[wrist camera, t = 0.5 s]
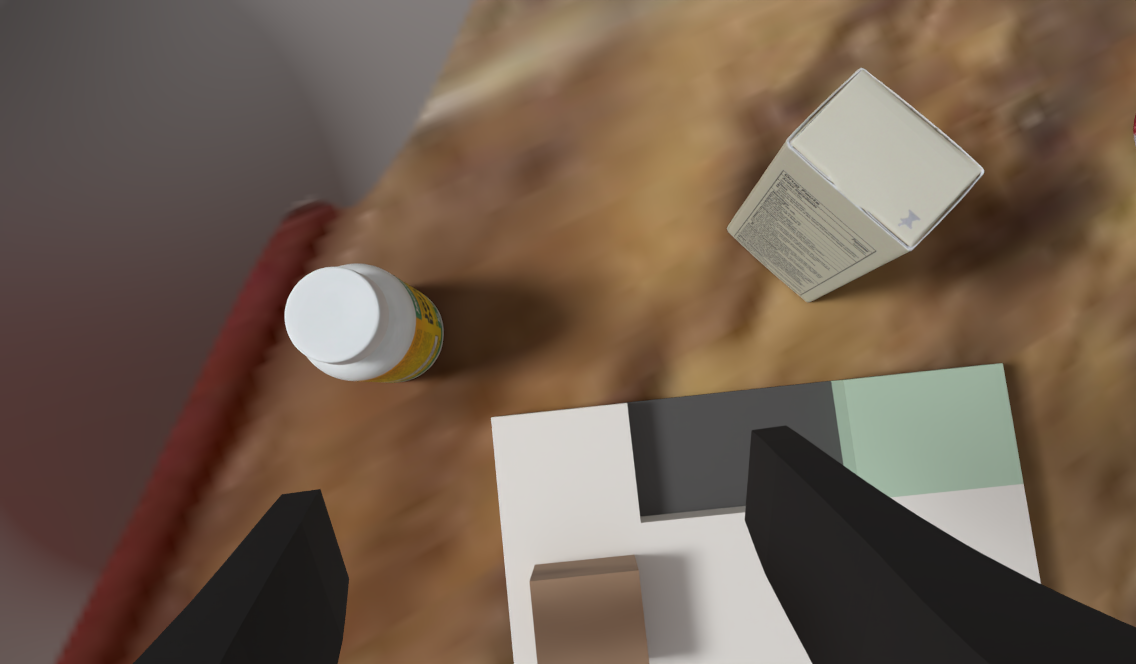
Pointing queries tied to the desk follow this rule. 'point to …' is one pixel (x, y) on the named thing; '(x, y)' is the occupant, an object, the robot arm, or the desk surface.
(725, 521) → the trap board
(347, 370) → the supplement bottle
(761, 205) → the skincare box
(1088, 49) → the desk surface
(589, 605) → the walnut block
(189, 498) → the desk surface
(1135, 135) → the soda can
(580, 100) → the desk surface
